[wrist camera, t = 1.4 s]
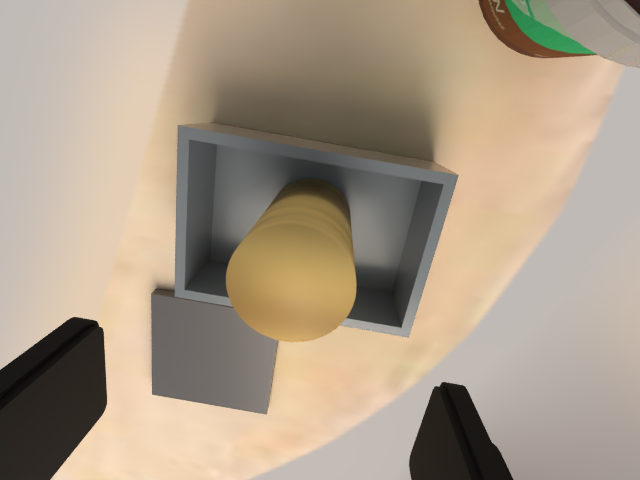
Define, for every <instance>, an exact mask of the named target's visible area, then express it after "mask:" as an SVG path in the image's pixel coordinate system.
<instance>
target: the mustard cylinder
mask: <svg viewBox="0 0 640 480" xmlns="http://www.w3.org/2000/svg"><path fill="white" fill-rule="evenodd" d="M226 287H227V293H228V296H229V299H230V302H231V304H232V306H233V308H234V309H235V311H236V313H237V314H238V315H239V316H240V318H241V319H242V320H243V321H244V322H245V323H246V324H247V325H249V326H250V327H251V328H252V329H254V330H256V331H257V332H259V333H261V334H263V335H265V336H267V337H270V338H273V339H276V340H280V341H286V342H304V341H310V340H314V339H317V338H320V337H322V336H324V335H327V334H329V333H330V332H332V331H333V330H335V329H336V328H337V327H338V326H339V325H341V323H342V322H343V321H344V320H345V319H346V317H347V316H348V314H349V313H350V311H351V309H352V307H353V304H354V301H355V297H356V273H355V261H354V250H353V238H352V227H351V215H350V209H349V206H348V203H347V201H346V199H345V197H344V196H343V195H342V193H341V192H340V191H339V190H338V189H337V188H336V187H334V186H333V185H331V184H329V183H328V182H325V181H322V180H319V179H312V178H311V179H301V180H297V181H294V182H292V183H290V184H289V185H287V186H286V187H284V188H283V189H282V190H281V191H280V192H279V193H278V195H277V196H276V197H275V199H274V200H273V201H272V203H271V204H270V205H269V207H268V208H267V209H266V210H265V212H264V213H263V214H262V216H261V217H260V218H259V220H258V221H257V222H256V224H255V225H254V226H253V228H252V229H251V230H250V231H249V233H248V234H247V235H246V237H245V238H244V239H243V241H242V242H241V243H240V245H239V246H238V247H237V249H236V250H235V252H234V253H233V255H232V257H231V259H230V261H229V264H228V267H227V273H226Z"/></svg>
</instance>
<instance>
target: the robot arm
mask: <svg viewBox="0 0 640 480" xmlns="http://www.w3.org/2000/svg"><path fill="white" fill-rule="evenodd" d="M106 405H107V390H106V371H105V351H104V332H103V329H102V328H101V327H99V324H98V322H97V321H95V320H89V319H83V318H78V317H73V318H71V319H69V320H67V321H66V322H65V323H63V324H62V325H61V326H59V327H58V328H57V329H55V330H54V331H52V332H51V333H50V334H48V335H47V336H46V337H44V338H43V339H42V340H40V341H39V342H38V343H36V344H35V345H34V346H32V347H31V348H29V349H28V350H27V351H25V352H24V353H23V354H21V355H20V356H19V357H17V358H16V359H15V360H13V361H12V362H11V363H9V364H8V365H6V366H5V367H4V368H2V369H1V370H0V480H50V479H51V478H52V477H53V475H54V474H55V473H56V472H57V471H58V469H59V468H60V467H61V466H62V464H63V463H64V462H65V461H66V459H67V458H68V457H69V456H70V454H71V453H72V452H73V451H74V449H75V448H76V447H77V446H78V444H79V443H80V442H81V441H82V439H83V438H84V437H85V436H86V435H87V433H88V432H89V431H90V430H91V428H92V427H93V426H94V425H95V423H96V422H97V421H98V420H99V418H100V417H101V416H102V414H103V413H104V411H105V408H106ZM409 466H410V474H411V479H412V480H513V478H512V476H511V474H510V472H509V469H508V468H507V465H506V463H505V461H504V459H503V457H502V455H501V453H500V451H499V450H498V448H497V447H496V446H495V445H494V444H493V443H492V442H491V440H490V438H489V436H488V434H487V432H486V429H485V427H484V425H483V423H482V421H481V419H480V416H479V414H478V412H477V410H476V408H475V406H474V404H473V402H472V399H471V397H470V395H469V393H468V391H467V389H466V387H465V386H463V385H457V384H452V383H446V382H442V383H441V385H440V387H437V386H436V387H434V389H433V391H432V394H431V397H430V400H429V403H428V406H427V408H426V411H425V415H424V417H423V420H422V423H421V426H420V429H419V431H418V434H417V437H416V440H415V443H414V446H413V449H412V452H411V455H410V461H409Z"/></svg>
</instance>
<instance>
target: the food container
mask: <svg viewBox="0 0 640 480" xmlns="http://www.w3.org/2000/svg"><path fill="white" fill-rule="evenodd" d="M479 4H480V7H481V10H482V13H483V16H484V18H485V20H486V22H487V24H488V26H489V28H490V29H491V31H492V32H493V33H494V34H495V35H496V37H497V38H498V39H499V40H500V41H502V42H503V43H504V44H505V45H506V46H508V47H509V48H511V49H513V50H515V51H517V52H518V53H521V54H524V55H528V56H531V57H539V58H559V57H574V56H590V55H599V56H601V57H603V58H605V59H608V60H611V61H614V62H617V63H620V64H623V65H626V66H630V67H637V68H640V0H479Z"/></svg>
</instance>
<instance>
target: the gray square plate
mask: <svg viewBox="0 0 640 480" xmlns="http://www.w3.org/2000/svg"><path fill="white" fill-rule="evenodd" d="M151 310H152V395H158V396H164V397H169V398H175V399H181V400H187V401H192V402H198V403H204V404H210V405H215V406H221V407H227V408H233V409H238V410H244V411H250V412H255V413H261V414H267V411H268V407H269V400H270V393H271V386H272V380H273V373H274V366H275V359H276V353H277V346H278V340H276V339H273V338H270V337H267V336H265V335H263V334H261V333H259V332H257V331H256V330H254V329H252V328H251V327H250V326H249V325H247V324H246V323H245V322H244V321H243V320H242V319H241V318H240V316H239V315H238V314H237V313H236V311H235V309H234V308H233V307H231V306H225V305H219V304H214V303H208V302H202V301H197V300H191V299H185V298H179V297H175V292H173V291H167V290H161V289H156V290H155V291H154V292H153V293H152V294H151Z"/></svg>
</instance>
